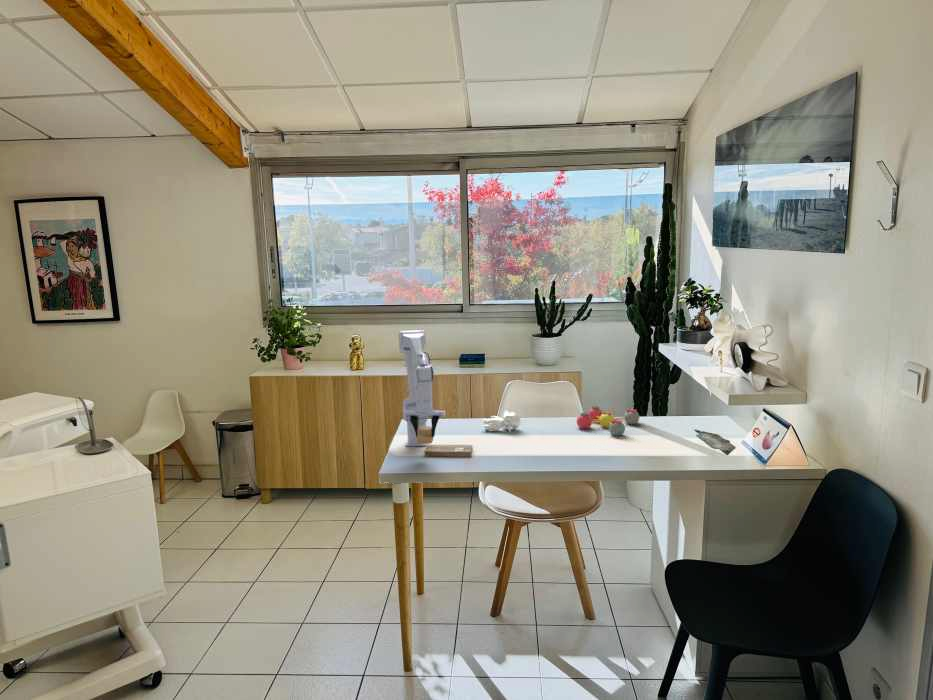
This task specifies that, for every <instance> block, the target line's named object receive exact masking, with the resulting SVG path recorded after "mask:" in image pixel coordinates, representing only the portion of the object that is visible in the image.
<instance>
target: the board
mask: <svg viewBox="0 0 933 700" xmlns="http://www.w3.org/2000/svg"><path fill="white" fill-rule="evenodd" d="M472 454H473V444H427V445H426V446H425V449H424V457H472Z"/></svg>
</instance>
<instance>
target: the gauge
mask: <svg viewBox="0 0 933 700" xmlns="http://www.w3.org/2000/svg"><path fill="white" fill-rule="evenodd" d="M417 439H418V443H427V444H432V443H433V441H434V437H432V426H427V425H426V426H419V427H418V429H417Z"/></svg>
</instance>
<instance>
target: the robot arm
mask: <svg viewBox="0 0 933 700" xmlns="http://www.w3.org/2000/svg"><path fill="white" fill-rule="evenodd" d="M425 345H426V332H425V331H424V329H421V330H420V329H419V330H400V331H399V332H398V347H399V348H398V349H399V352H400V353H401V354H403V355H404V357H405V360H406V361H405V362H406V373H407V387H408V395H409V396H408V397H406V398H405V399H404V400H403V402H402V417H403V420H404V421H405V422H406V428H407V433H406V434H407V440H406V443H405V447H427V445H428V443H418V439H417V429H418V427H419V426H427V420H429V419H430V417H431V427H432V437H433V438H434V437H435V435H436V428H437V425H438V422H439V419H441V418H446V410H438V409H433V382H434V378H435V375H434V374H435V372H434V367H433V365H432V364H430V363H429V359H428V356H427V354H426V353H424V352H423V351H424V349H425Z"/></svg>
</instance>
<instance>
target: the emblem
mask: <svg viewBox="0 0 933 700" xmlns="http://www.w3.org/2000/svg"><path fill="white" fill-rule="evenodd" d="M693 429H694V430H695V431H694V430H693V431H694V432H696V435H695V436H696V437H697V438H698V439H700V440H701V441H702V442H703V441H704V442H703V443H705V444H706V445H707V446H709V448H711V449H714V450H719V451H721V452H722V453H724V454H725V455H726V456H728V455H729V454H730V453H731V452H732V451H733V450H735V448H736V446H735V445H733V444H732V443H730V440H729V439H726V438H723V436H721V435H720V434H717V433H713V432H707V431H703V430H699V429H695V428H693ZM701 431H702V432H701ZM698 433H699V434H698Z"/></svg>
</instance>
